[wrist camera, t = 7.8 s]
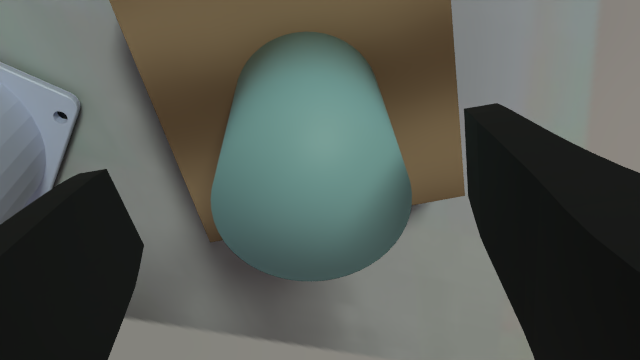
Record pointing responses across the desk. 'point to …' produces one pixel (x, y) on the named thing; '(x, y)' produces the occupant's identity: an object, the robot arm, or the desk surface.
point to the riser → (285, 18)
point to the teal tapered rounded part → (309, 163)
